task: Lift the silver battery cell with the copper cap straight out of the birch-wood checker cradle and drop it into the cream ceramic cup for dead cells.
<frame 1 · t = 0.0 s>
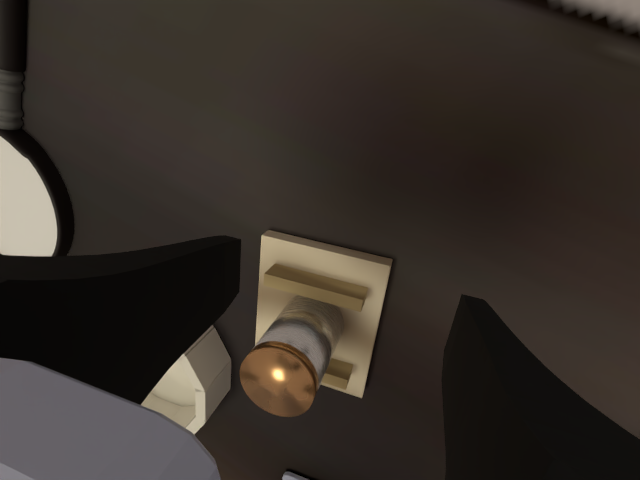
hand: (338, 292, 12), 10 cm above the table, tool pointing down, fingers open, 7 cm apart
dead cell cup: (171, 353, 30), on the table
magnifying glass: (23, 129, 28), on the table
checker cradle: (318, 312, 24), on the table
cell: (313, 320, 24), point 1 cm above the table, touching checker cradle
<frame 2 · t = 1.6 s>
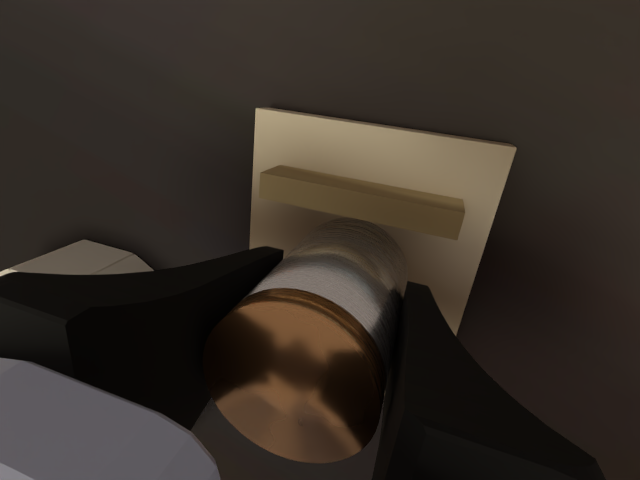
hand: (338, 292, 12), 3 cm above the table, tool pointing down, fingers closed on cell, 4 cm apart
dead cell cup: (119, 339, 20), on the table
checker cradle: (356, 260, 14), on the table
cell: (350, 271, 13), point 1 cm above the table, touching checker cradle, gripper
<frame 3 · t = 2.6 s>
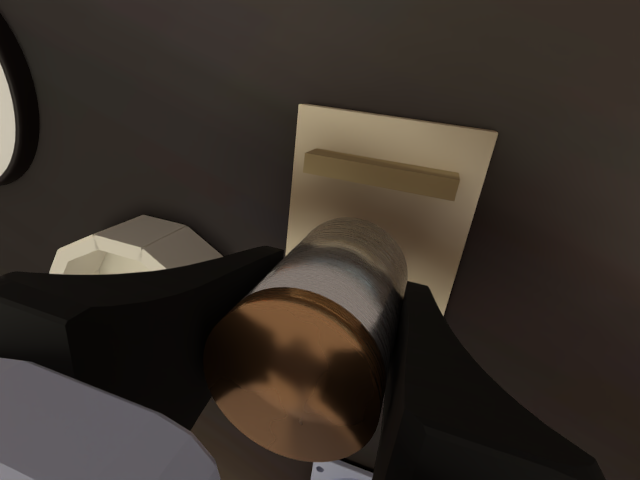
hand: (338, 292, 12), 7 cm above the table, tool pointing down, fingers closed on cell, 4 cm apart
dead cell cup: (169, 301, 23), on the table
checker cradle: (374, 225, 17), on the table
cell: (350, 270, 13), point 5 cm above the table, touching gripper
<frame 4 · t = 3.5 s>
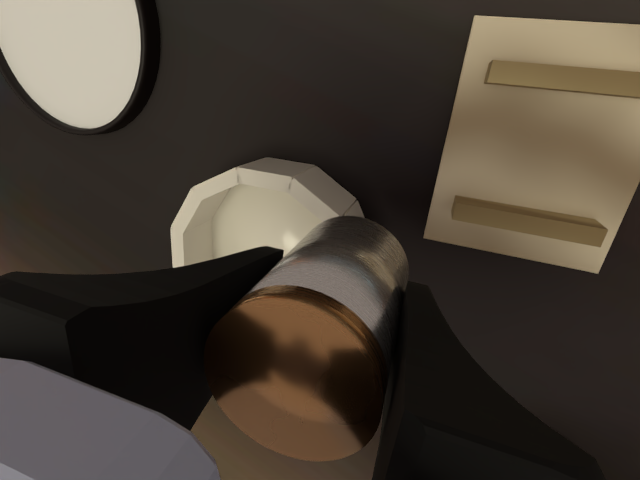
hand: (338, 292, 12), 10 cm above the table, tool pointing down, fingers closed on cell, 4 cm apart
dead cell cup: (284, 250, 23), on the table
checker cradle: (535, 149, 17), on the table
cell: (351, 269, 13), point 8 cm above the table, touching gripper
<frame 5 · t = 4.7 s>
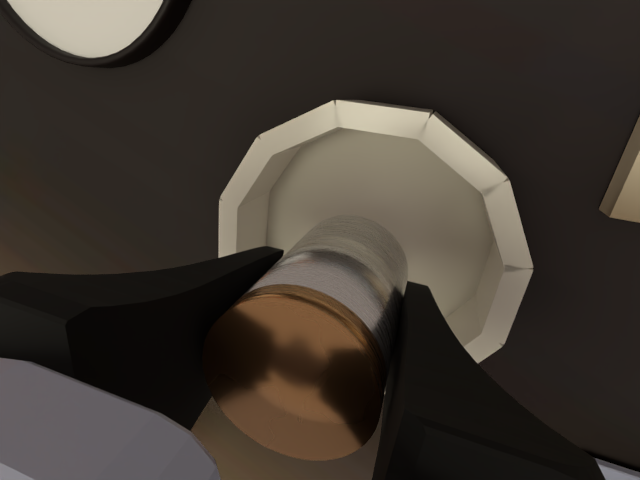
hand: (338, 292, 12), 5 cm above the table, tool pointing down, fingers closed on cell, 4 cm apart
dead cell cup: (370, 236, 16), on the table
cell: (350, 269, 13), point 4 cm above the table, touching gripper
when the fingers open (4 cm above the table, at t = 5.4 s): cell drops 2 cm, resting on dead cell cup.
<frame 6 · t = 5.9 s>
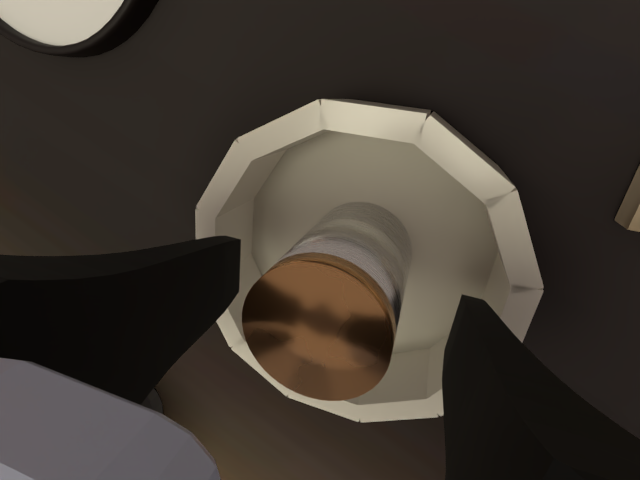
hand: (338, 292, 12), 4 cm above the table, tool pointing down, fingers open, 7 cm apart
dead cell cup: (363, 247, 15), on the table
cell: (360, 250, 15), point 1 cm above the table, touching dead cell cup
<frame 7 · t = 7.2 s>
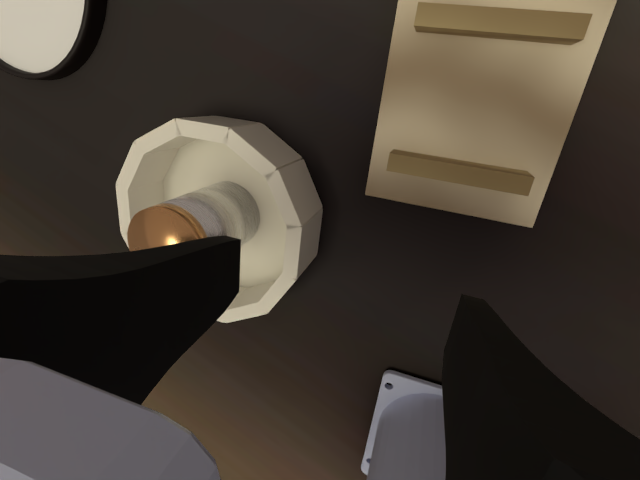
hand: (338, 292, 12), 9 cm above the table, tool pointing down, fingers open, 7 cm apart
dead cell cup: (235, 212, 23), on the table
checker cradle: (471, 102, 17), on the table
cell: (230, 213, 22), point 1 cm above the table, touching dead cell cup
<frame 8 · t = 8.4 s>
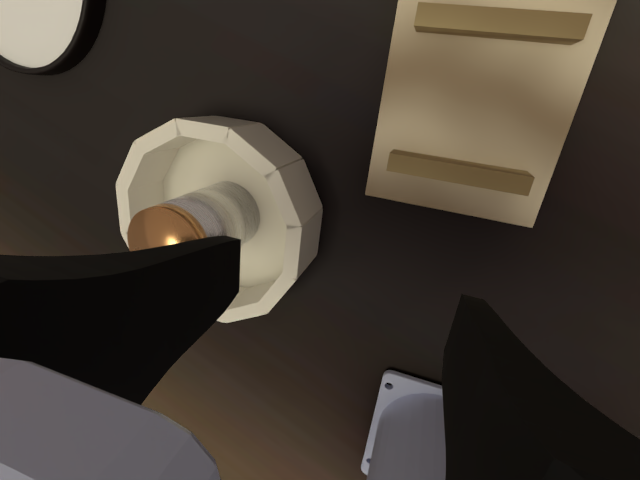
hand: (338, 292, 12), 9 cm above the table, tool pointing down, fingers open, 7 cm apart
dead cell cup: (235, 212, 23), on the table
checker cradle: (471, 102, 17), on the table
cell: (230, 213, 22), point 1 cm above the table, touching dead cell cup
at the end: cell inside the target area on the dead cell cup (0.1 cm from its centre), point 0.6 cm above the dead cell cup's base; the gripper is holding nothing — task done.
